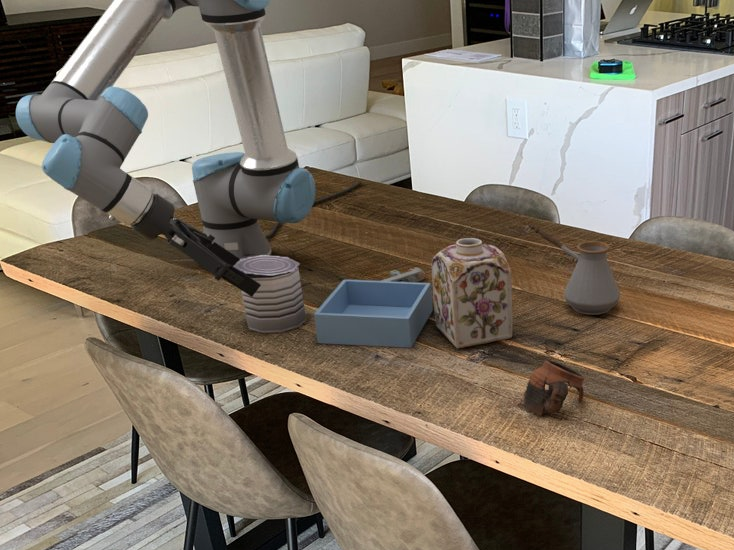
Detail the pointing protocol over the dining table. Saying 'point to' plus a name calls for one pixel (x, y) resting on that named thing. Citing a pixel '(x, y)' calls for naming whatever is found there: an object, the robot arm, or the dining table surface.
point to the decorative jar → (472, 293)
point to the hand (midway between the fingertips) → (247, 278)
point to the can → (273, 294)
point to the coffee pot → (588, 277)
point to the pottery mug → (551, 387)
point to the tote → (374, 313)
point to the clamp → (407, 275)
